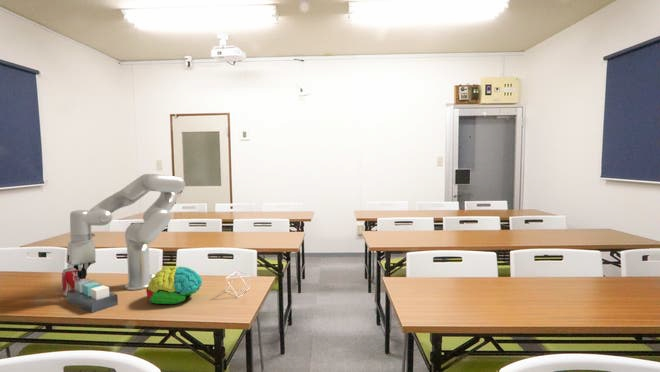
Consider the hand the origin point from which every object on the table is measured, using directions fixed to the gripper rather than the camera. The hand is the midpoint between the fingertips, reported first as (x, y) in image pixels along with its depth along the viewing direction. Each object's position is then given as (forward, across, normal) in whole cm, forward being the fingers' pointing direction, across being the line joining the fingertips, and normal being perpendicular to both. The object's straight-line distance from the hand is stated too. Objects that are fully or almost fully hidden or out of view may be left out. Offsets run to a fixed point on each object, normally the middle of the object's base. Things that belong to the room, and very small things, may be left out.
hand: (82, 278), depth 155 cm
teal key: (+6, -1, +8) cm, 10 cm away
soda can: (+10, -1, -12) cm, 16 cm away
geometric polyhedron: (+9, -43, +54) cm, 69 cm away
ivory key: (+7, -1, +15) cm, 17 cm away
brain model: (+10, -23, +35) cm, 42 cm away
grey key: (+6, -1, 0) cm, 6 cm away
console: (+10, -1, +8) cm, 12 cm away
